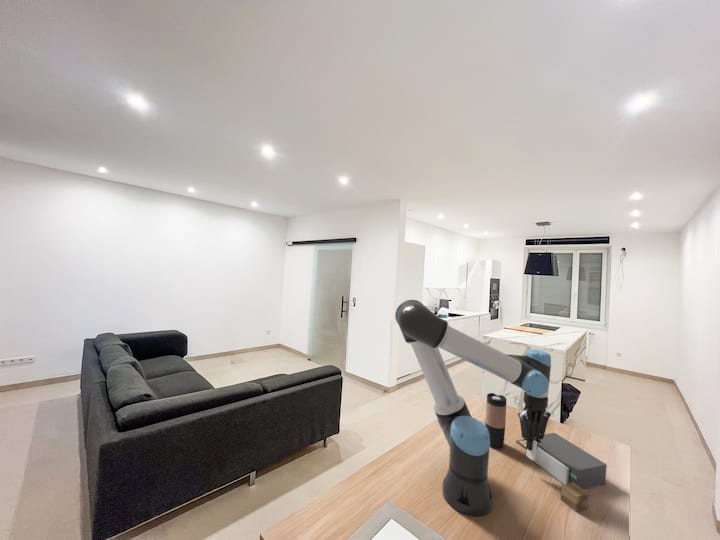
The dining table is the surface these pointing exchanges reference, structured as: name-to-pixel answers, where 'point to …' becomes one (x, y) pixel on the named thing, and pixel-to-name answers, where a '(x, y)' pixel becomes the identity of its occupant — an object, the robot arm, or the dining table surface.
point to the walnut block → (574, 496)
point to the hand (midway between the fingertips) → (531, 457)
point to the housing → (575, 461)
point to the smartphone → (522, 443)
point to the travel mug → (496, 419)
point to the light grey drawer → (553, 466)
